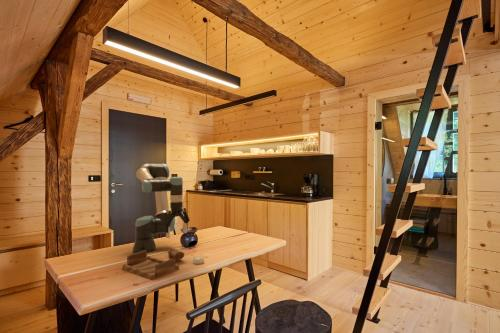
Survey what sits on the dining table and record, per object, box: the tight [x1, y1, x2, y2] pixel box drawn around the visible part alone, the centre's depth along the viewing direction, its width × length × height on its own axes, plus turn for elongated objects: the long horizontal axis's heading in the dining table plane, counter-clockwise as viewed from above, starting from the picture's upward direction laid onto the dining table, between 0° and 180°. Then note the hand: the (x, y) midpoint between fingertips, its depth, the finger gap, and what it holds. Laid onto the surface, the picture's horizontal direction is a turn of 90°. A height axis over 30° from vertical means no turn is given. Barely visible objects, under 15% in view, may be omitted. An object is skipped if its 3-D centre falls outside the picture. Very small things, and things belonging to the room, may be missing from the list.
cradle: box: [121, 250, 180, 281], centre depth 152 cm, size 27×18×7 cm, turn 57°
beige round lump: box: [192, 255, 205, 265], centre depth 163 cm, size 6×6×3 cm
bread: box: [167, 248, 185, 262], centre depth 170 cm, size 6×19×6 cm, turn 33°
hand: (176, 235), depth 168 cm, fingers open, 13 cm apart
